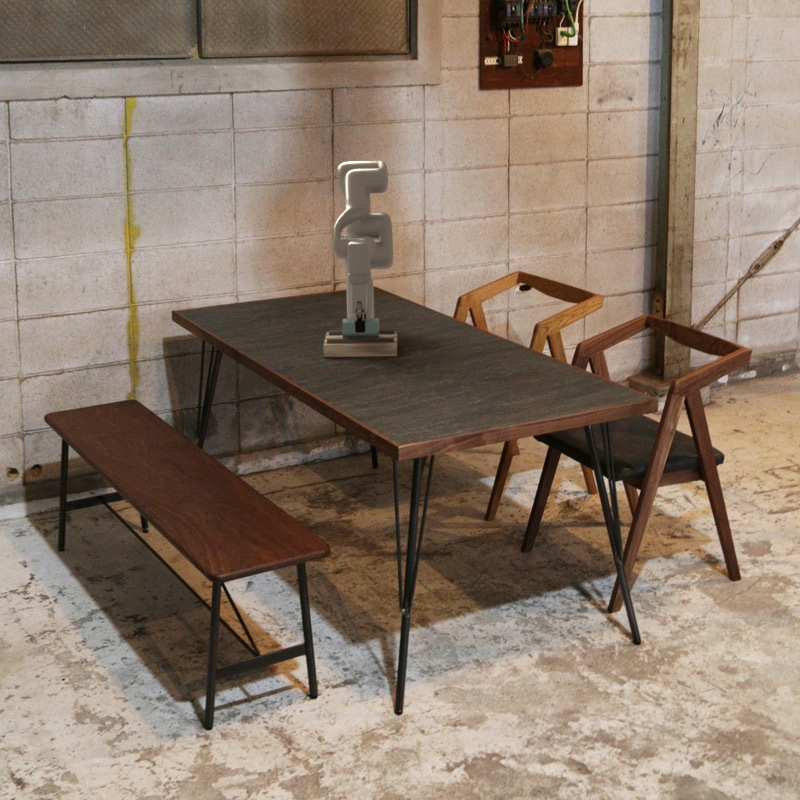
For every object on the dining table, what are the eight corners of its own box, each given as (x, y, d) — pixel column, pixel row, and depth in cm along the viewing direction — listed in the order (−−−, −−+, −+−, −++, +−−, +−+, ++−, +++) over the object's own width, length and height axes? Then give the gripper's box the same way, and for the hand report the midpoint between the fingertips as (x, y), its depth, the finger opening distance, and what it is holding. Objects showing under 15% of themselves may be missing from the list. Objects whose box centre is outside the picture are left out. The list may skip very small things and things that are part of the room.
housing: (379, 335, 434) (378, 318, 432) (378, 339, 428) (378, 322, 426) (343, 336, 434) (342, 318, 432) (342, 340, 428) (342, 322, 426)
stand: (327, 343, 441) (326, 328, 439) (397, 342, 440) (397, 327, 439) (323, 357, 423) (323, 341, 422) (396, 355, 423) (396, 340, 422)
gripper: (349, 273, 433) (350, 322, 438) (346, 284, 417) (348, 335, 422) (371, 272, 433) (372, 322, 438) (370, 283, 417) (371, 335, 422)
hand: (360, 328), depth 430 cm, fingers open, 9 cm apart
